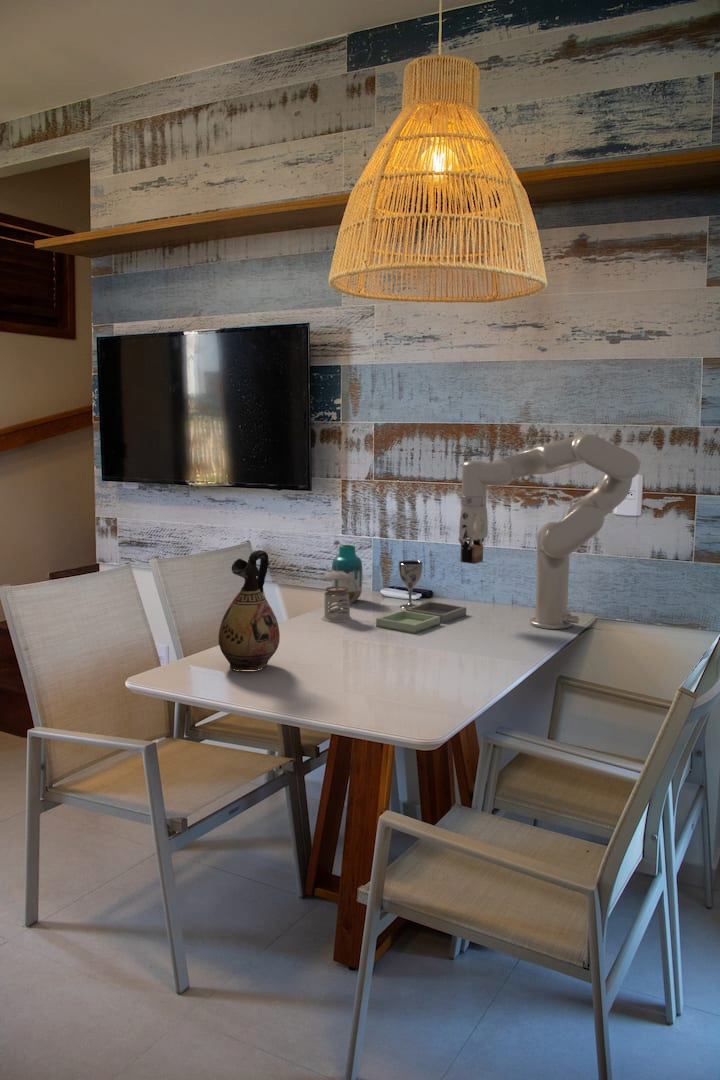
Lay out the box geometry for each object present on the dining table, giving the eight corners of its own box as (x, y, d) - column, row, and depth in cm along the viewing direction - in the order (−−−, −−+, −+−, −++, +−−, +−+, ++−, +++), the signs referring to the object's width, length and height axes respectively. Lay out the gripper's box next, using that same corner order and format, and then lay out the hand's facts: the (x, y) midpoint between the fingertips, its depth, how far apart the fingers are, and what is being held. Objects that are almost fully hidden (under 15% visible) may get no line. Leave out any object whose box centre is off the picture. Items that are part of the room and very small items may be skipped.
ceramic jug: (255, 679, 212) (253, 558, 207) (206, 669, 220) (204, 552, 215) (295, 662, 226) (294, 549, 222) (248, 654, 234) (247, 544, 230)
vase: (368, 602, 298) (368, 546, 295) (341, 605, 292) (341, 549, 290) (352, 596, 307) (353, 542, 304) (326, 599, 302) (326, 544, 299)
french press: (317, 616, 277) (317, 538, 273) (352, 614, 280) (352, 537, 277) (325, 623, 268) (325, 543, 264) (361, 621, 271) (362, 541, 267)
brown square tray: (466, 614, 280) (466, 607, 279) (443, 623, 269) (443, 615, 268) (429, 608, 288) (429, 601, 288) (405, 616, 277) (405, 609, 276)
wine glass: (426, 605, 293) (426, 561, 290) (414, 610, 286) (415, 565, 284) (405, 602, 297) (405, 559, 294) (393, 607, 290) (394, 563, 288)
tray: (439, 624, 267) (440, 616, 267) (414, 633, 256) (414, 625, 256) (402, 617, 275) (402, 610, 275) (376, 626, 264) (376, 618, 264)
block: (482, 561, 267) (483, 545, 267) (474, 563, 263) (475, 547, 263) (468, 559, 270) (469, 544, 270) (460, 562, 266) (460, 545, 266)
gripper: (470, 505, 255) (468, 566, 258) (498, 500, 269) (495, 558, 271) (448, 503, 260) (446, 563, 262) (476, 498, 273) (474, 556, 276)
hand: (471, 560), depth 267 cm, fingers closed on block, 5 cm apart
